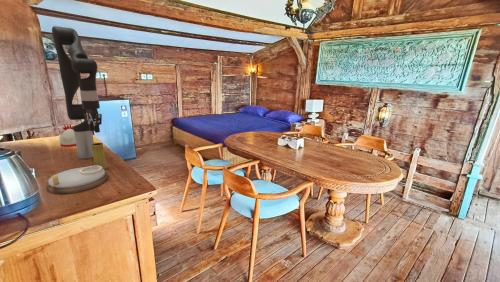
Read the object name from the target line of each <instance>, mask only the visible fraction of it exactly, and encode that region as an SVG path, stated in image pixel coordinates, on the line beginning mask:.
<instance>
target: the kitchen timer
mask: <svg viewBox="0 0 500 282" xmlns="http://www.w3.org/2000/svg"><path fill="white" fill-rule="evenodd" d="M73 127H74V125H71V124H67V125H65V124H64V125H63V126H62V129H63V132H62V135H61V134H60V135H61V139H59V140H60V141H59V145H60V147H62V148H69V147H70V148H71V147H72V148H73V147H77V146H76V140H75V135H74V130H73Z"/></svg>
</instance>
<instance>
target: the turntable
mask: <svg viewBox="0 0 500 282" xmlns="http://www.w3.org/2000/svg"><path fill="white" fill-rule="evenodd" d="M105 171H106V170H105V169H103V168H102V167H101V166H99V165H98V166H94V165H90V166H84V167H77V168H71V169H67V170H64V171H61V172H59V173H56V174H53V175H51V177H49V179H48V180H47V182H49V185H50V186H51V187H52V186H54V187H55V188H59V189H65V188H75V187H80V186H84V185H88V184H91V183H93V182H96V181H98V180H100V179H101V178H103V177H104V175H105Z"/></svg>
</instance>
